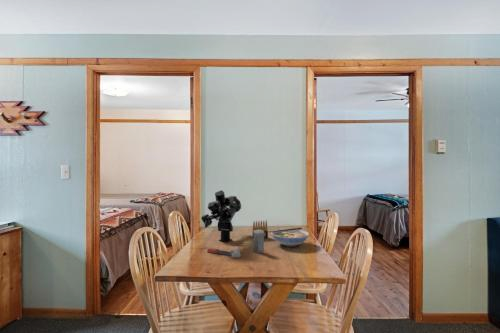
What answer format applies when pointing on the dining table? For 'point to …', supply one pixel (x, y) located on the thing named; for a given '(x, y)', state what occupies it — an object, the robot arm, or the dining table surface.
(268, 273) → the dining table surface
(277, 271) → the dining table surface
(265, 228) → the ammunition clip
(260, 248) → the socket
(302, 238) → the ramen bowl
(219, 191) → the robot arm
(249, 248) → the dining table surface
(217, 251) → the ratchet
